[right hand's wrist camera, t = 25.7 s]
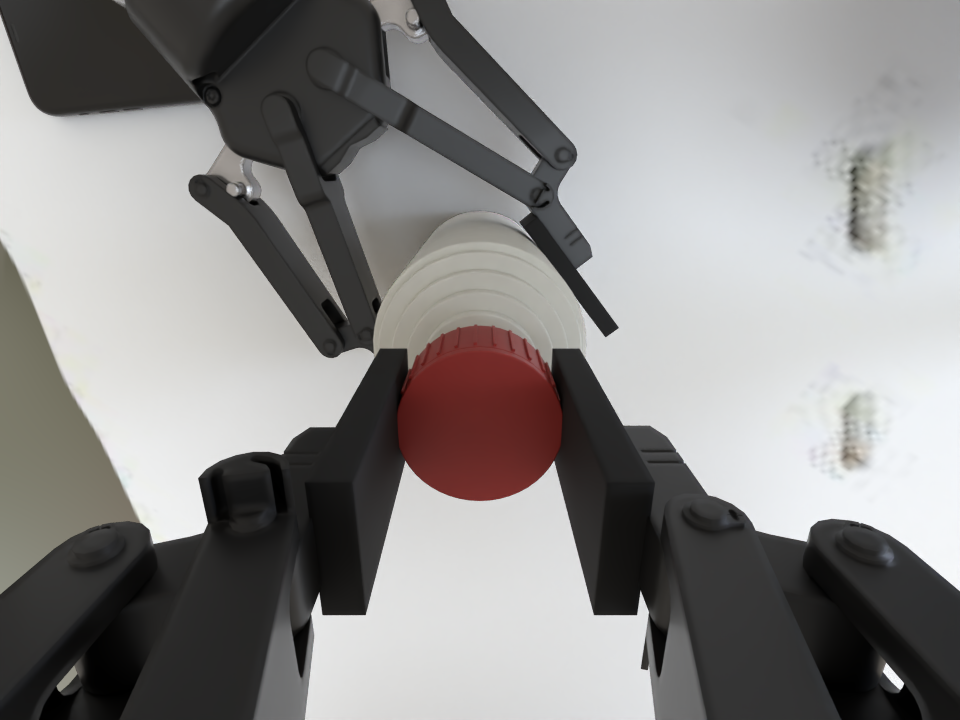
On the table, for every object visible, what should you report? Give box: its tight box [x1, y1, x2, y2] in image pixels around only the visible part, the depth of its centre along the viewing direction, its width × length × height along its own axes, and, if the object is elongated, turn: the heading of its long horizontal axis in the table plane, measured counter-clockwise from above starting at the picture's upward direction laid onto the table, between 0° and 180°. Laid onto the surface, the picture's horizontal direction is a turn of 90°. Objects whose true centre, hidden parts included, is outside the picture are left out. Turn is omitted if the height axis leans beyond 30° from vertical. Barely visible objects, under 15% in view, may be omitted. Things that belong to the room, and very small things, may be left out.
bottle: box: [373, 211, 586, 371], centre depth 22 cm, size 8×8×19 cm
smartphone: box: [0, 0, 204, 116], centre depth 26 cm, size 8×1×16 cm
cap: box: [397, 324, 562, 501], centre depth 14 cm, size 4×4×2 cm
